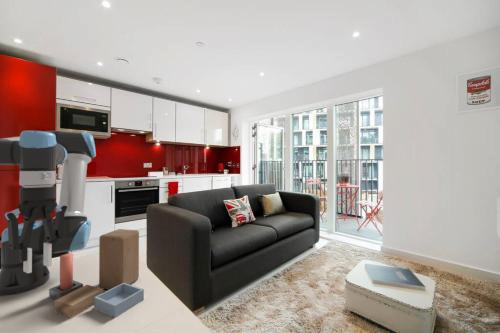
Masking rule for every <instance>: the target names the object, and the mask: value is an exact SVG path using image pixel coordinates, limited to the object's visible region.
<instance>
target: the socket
mask: <svg viewBox="0 0 500 333" xmlns="http://www.w3.org/2000/svg"><path fill="white" fill-rule="evenodd" d="M83 286H84V284H83V283H82V282H80V281H76V280H75V279H73V287H71V288H68V289H66V290H64V291H62V290H60V284H58V285H55V286H53V287H51V288H49V289H48V298H49V299H52V300H54V301H55V300H56V299H59V298H61V297H63V296H65V295H67V294H69V293H71V292H73V291H75V290H77V289H79V288H81V287H83Z"/></svg>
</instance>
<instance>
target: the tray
mask: <svg viewBox="0 0 500 333" xmlns="http://www.w3.org/2000/svg"><path fill="white" fill-rule="evenodd" d="M144 294H145V289H144V288H141V287H138V286H135V285H133V284H130V285H129V284H126V283H122V284H120V285H118V286H116V287H114V288H112V289H110V290H109V289H107V290H106V291H105V292H103V293H102V294H100V295H98V296H96V297H94V305H93V306H94V307H93V308H94V310H96V311H99V312H101V313H103V314H105V315H107V316H110V317H113V318H118V316H120V315H121V314H123V313H125V312H127V311H128V310H129V309H131V308H133V307H134V306H136V305H138V304H139V303H141V302H143V301H144V300H145V299H144V296H145V295H144Z"/></svg>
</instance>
